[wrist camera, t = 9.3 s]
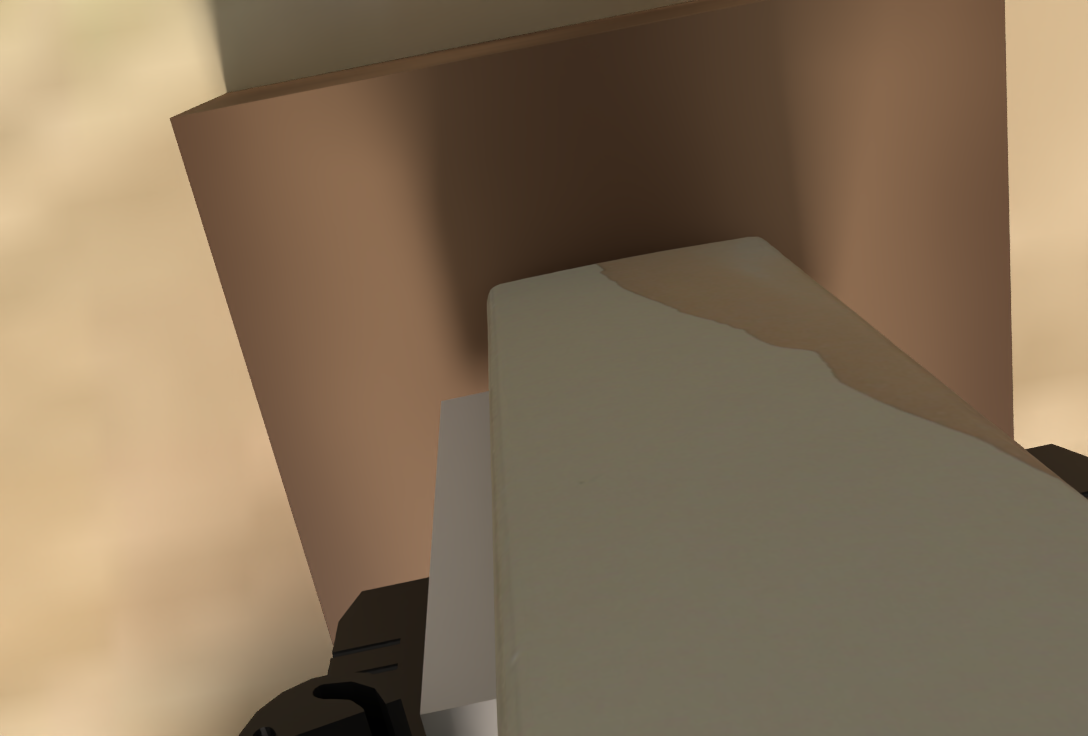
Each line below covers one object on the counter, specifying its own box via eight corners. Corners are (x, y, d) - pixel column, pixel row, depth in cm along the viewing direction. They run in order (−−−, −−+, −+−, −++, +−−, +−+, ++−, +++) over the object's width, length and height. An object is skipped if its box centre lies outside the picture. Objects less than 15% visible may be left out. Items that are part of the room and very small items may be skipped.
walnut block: (379, 606, 22) (360, 732, 18) (232, 90, 18) (169, 118, 14) (924, 500, 22) (1017, 604, 18) (894, -40, 18) (1003, -48, 14)
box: (796, 522, 17) (1317, 1378, 6) (539, 572, 17) (651, 1510, 6) (762, 212, 15) (1422, 718, 5) (473, 268, 15) (484, 902, 5)
